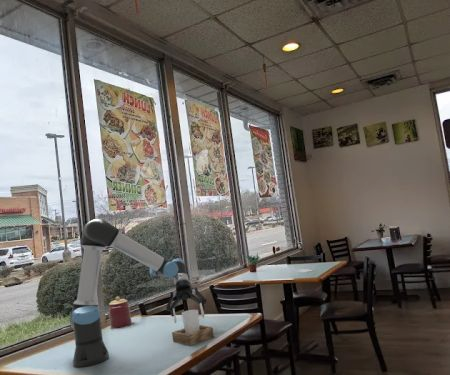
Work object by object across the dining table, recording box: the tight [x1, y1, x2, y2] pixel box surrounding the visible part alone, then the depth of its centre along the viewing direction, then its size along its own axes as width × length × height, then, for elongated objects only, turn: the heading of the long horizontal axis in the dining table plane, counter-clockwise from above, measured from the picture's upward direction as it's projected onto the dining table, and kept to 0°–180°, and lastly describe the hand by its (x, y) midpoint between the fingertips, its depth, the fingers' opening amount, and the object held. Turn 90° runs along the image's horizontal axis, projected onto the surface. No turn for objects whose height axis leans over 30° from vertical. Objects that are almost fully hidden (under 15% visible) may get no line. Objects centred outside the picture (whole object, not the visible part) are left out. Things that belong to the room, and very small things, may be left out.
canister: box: [107, 296, 132, 329], centre depth 251 cm, size 13×13×18 cm
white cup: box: [181, 309, 200, 334], centre depth 193 cm, size 8×8×10 cm
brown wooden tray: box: [171, 324, 215, 346], centre depth 192 cm, size 14×14×4 cm
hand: (189, 318), depth 196 cm, fingers open, 13 cm apart
